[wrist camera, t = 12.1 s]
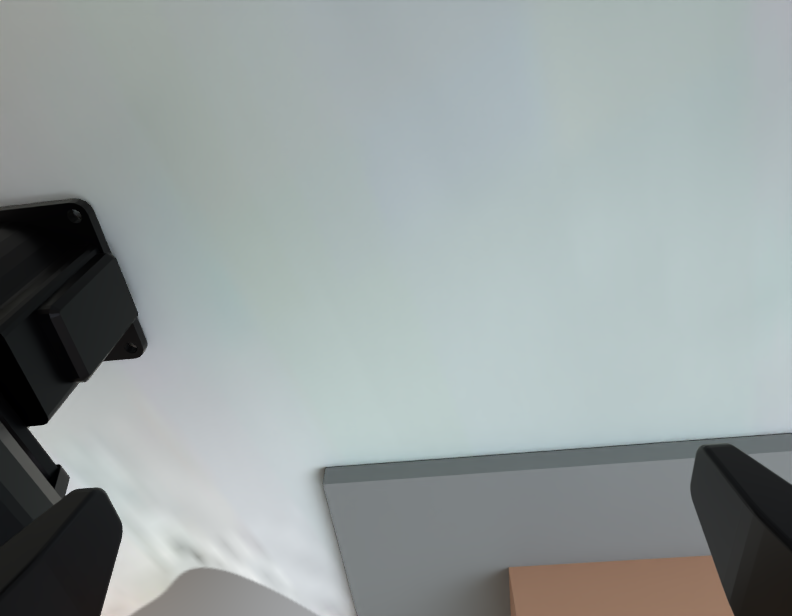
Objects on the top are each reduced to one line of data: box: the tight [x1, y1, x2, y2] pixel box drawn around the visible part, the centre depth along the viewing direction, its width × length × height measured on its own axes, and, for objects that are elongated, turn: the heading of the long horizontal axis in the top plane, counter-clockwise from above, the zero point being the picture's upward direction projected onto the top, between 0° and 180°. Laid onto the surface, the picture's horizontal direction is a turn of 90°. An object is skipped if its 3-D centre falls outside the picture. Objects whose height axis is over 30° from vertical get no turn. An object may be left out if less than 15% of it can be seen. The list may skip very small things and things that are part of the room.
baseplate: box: [323, 433, 792, 616], centre depth 30 cm, size 22×18×1 cm
